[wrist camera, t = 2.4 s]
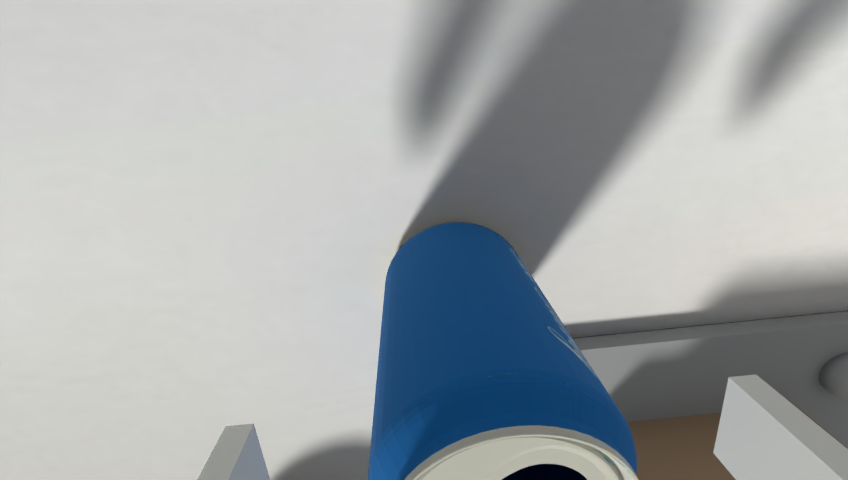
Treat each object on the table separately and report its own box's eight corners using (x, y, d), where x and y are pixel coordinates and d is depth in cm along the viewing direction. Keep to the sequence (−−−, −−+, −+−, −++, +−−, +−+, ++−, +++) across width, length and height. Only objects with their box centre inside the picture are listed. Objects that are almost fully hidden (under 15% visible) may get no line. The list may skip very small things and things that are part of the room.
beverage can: (545, 286, 20) (719, 537, 9) (443, 359, 22) (486, 658, 10) (464, 187, 18) (560, 354, 7) (357, 275, 20) (296, 531, 8)
